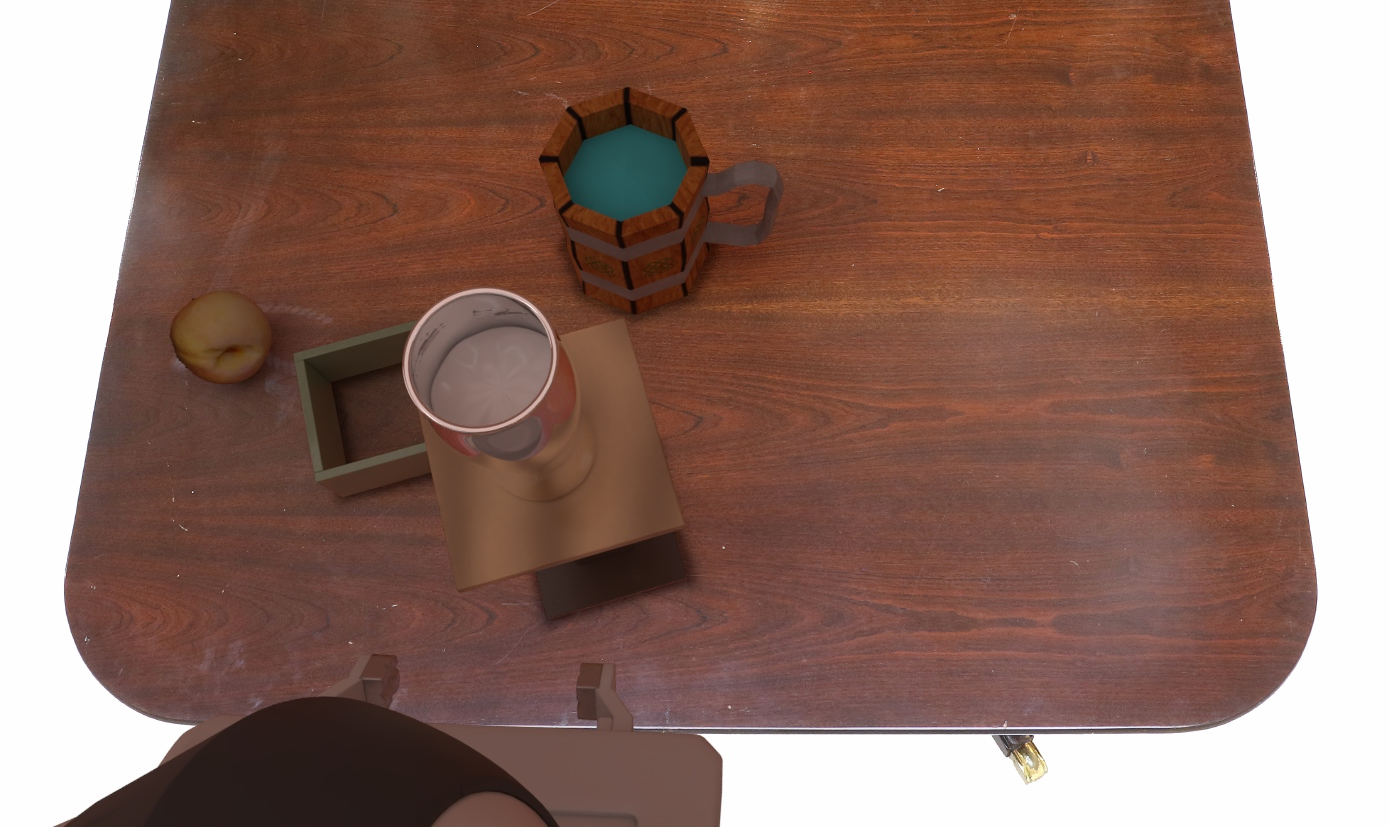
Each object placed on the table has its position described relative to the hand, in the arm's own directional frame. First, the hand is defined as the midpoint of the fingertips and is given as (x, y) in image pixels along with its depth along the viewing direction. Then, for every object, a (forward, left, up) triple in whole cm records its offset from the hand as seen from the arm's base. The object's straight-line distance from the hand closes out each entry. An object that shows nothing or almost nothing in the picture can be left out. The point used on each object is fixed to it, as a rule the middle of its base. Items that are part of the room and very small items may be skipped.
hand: (490, 669), depth 40 cm
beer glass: (+3, +12, -10) cm, 16 cm away
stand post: (+4, +12, -38) cm, 40 cm away
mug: (+17, +36, -38) cm, 55 cm away
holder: (-11, +27, -38) cm, 48 cm away
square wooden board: (+4, +12, -11) cm, 16 cm away
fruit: (-23, +37, -38) cm, 58 cm away
